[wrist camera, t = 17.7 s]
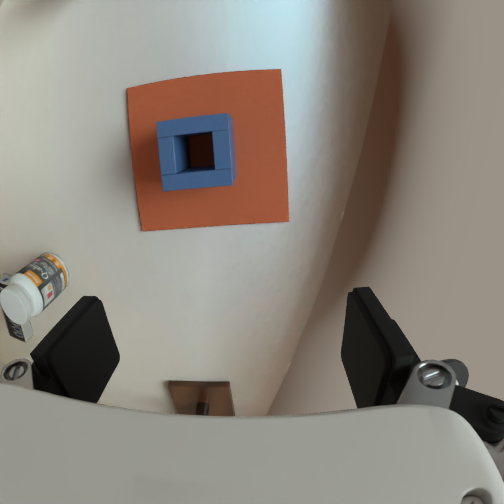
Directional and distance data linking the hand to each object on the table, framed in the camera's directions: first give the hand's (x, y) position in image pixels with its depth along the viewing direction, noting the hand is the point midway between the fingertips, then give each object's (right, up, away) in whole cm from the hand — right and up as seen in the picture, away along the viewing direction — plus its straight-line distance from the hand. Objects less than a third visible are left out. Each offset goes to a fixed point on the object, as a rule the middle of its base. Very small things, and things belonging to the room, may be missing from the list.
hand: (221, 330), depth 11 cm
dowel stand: (-6, -20, +32) cm, 38 cm away
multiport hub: (-37, -6, +26) cm, 46 cm away
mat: (-4, +13, +19) cm, 23 cm away
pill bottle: (-26, 0, +24) cm, 35 cm away
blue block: (-4, +13, +18) cm, 23 cm away
